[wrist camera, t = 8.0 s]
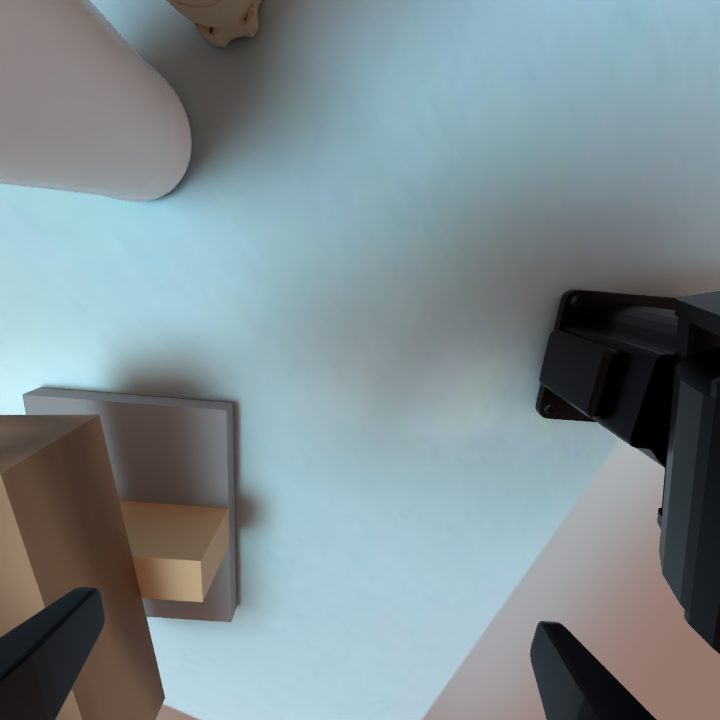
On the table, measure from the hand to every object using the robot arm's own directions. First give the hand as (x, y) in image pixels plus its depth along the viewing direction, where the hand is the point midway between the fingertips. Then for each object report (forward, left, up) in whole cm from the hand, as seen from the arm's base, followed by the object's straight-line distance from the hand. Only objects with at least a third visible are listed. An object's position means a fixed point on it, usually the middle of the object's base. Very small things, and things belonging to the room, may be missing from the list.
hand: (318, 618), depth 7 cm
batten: (+11, +8, -7) cm, 15 cm away
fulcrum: (+11, +8, -12) cm, 18 cm away
